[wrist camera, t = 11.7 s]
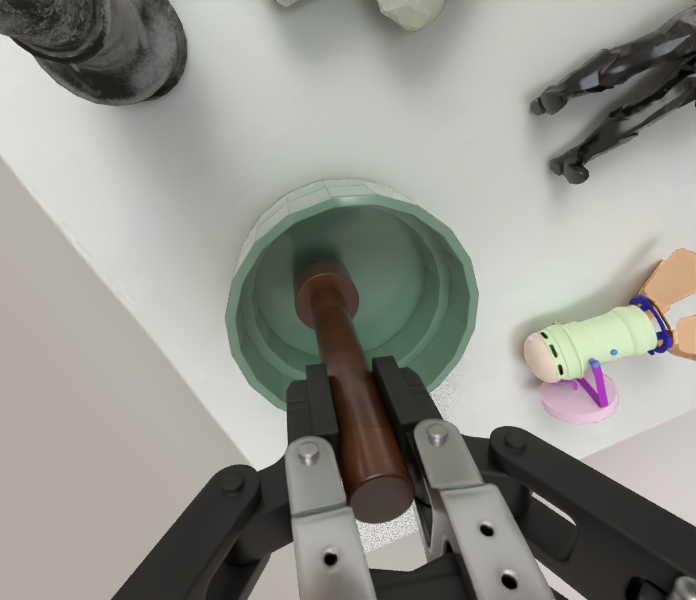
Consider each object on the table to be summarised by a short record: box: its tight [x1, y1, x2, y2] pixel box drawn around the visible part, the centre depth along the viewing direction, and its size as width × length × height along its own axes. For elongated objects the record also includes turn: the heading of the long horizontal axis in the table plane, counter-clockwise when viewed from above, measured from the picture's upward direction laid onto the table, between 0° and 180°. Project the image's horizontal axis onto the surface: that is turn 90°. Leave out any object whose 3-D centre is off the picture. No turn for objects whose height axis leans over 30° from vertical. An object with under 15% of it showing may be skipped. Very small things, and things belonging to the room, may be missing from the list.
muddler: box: [293, 256, 415, 524], centre depth 17 cm, size 3×3×15 cm
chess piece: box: [0, 0, 187, 106], centre depth 14 cm, size 6×6×12 cm
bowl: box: [225, 178, 479, 411], centre depth 23 cm, size 13×13×6 cm
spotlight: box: [524, 248, 696, 424], centre depth 28 cm, size 12×8×8 cm
